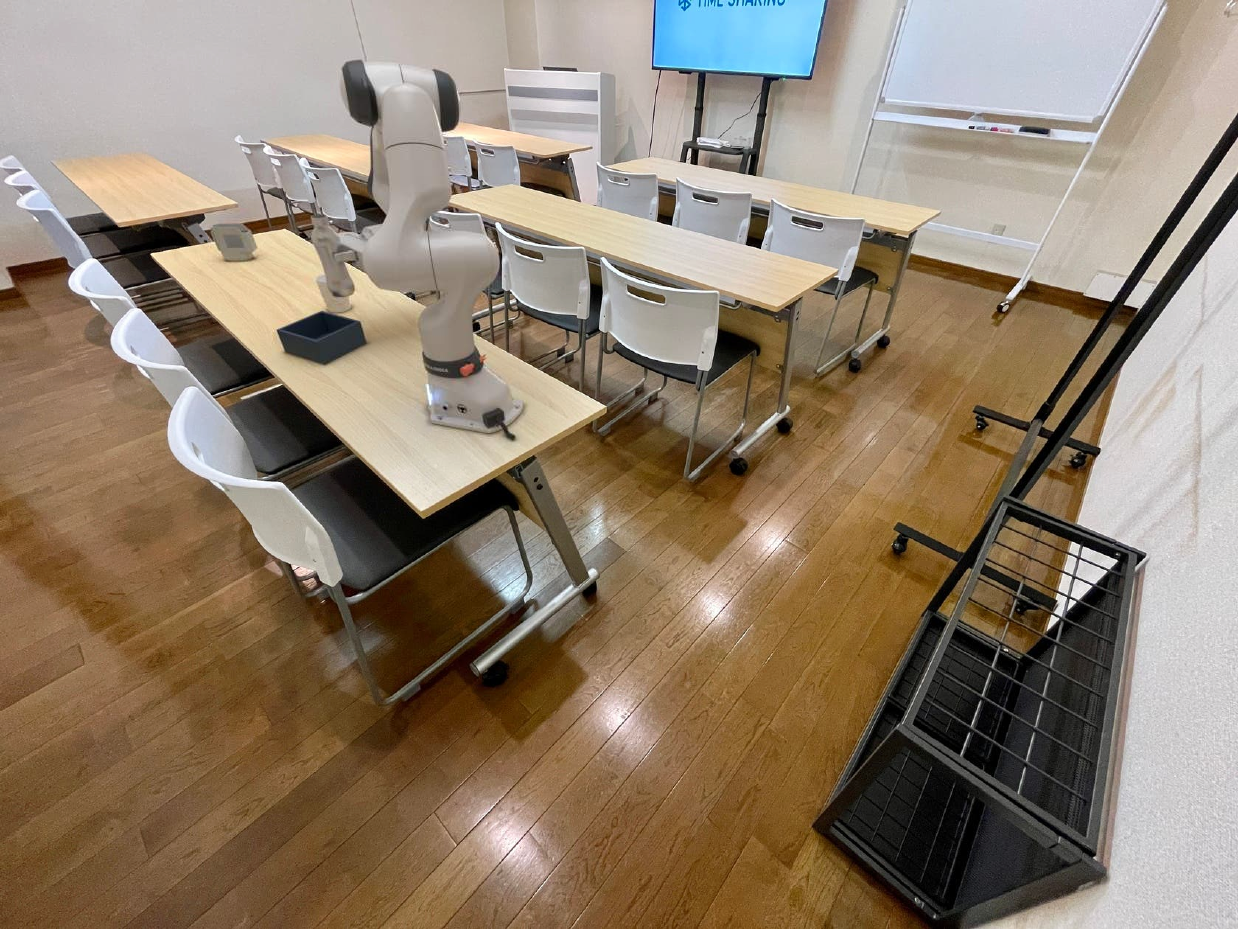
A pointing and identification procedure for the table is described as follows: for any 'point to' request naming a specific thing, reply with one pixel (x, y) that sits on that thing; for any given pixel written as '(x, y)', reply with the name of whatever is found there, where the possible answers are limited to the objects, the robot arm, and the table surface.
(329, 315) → the tub
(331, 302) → the white cup
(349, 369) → the table surface
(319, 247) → the metal water bottle
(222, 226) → the cable organizer
